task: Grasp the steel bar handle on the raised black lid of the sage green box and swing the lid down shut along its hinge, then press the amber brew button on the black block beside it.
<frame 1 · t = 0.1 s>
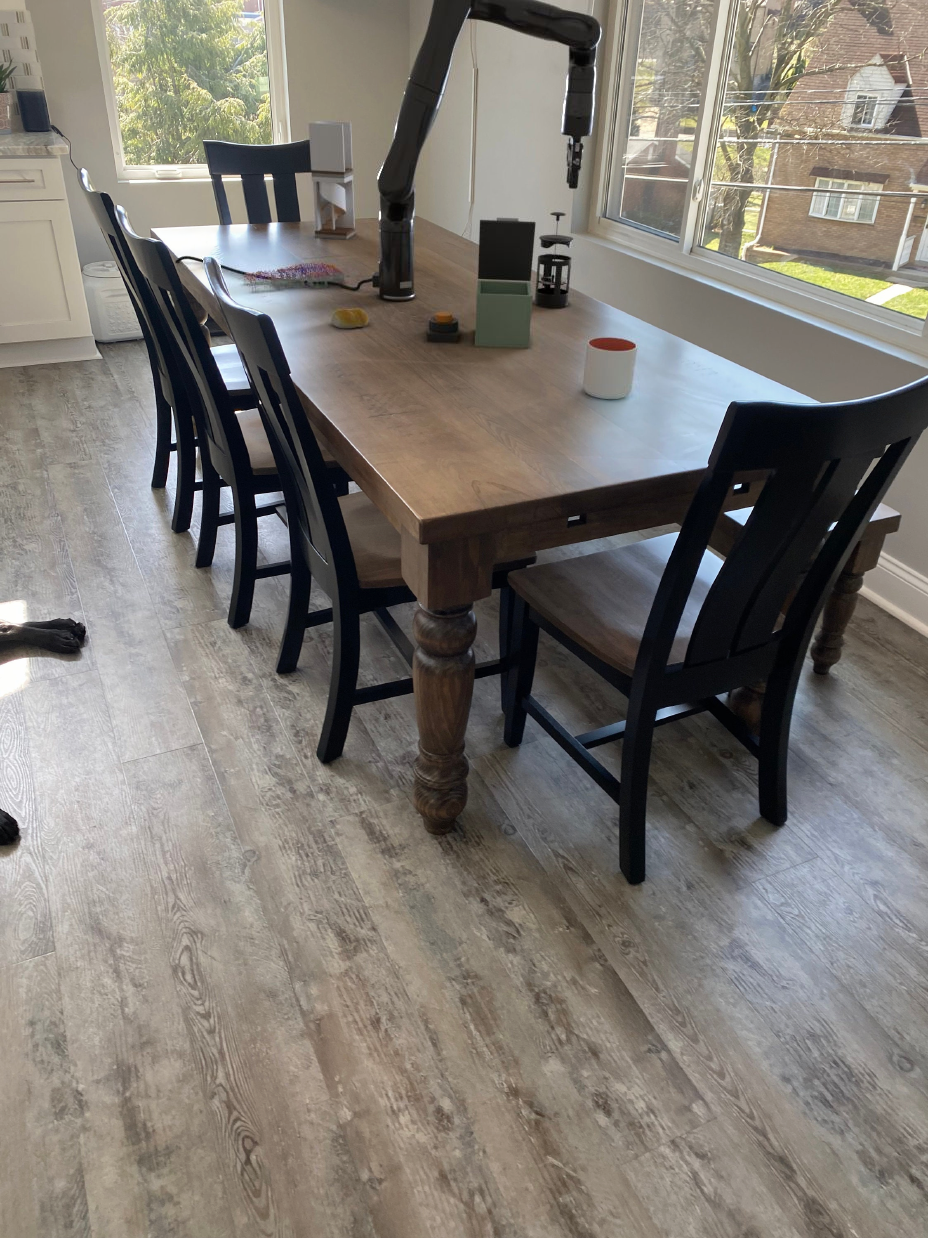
hand: (571, 185, 227), 29 cm above the table, tool pointing down, fingers open, 8 cm apart
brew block: (443, 336, 214), on the table
sage green box: (501, 338, 213), on the table
cup: (606, 393, 183), on the table
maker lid: (506, 246, 208), point 20 cm above the table, hinge at 70.0°
french press: (550, 304, 243), on the table
brew button: (443, 317, 211), point 5 cm above the table, slide at 0.1 cm
bread roll: (349, 325, 220), on the table
white tower: (335, 236, 314), on the table
multicoloured piece: (295, 285, 252), on the table
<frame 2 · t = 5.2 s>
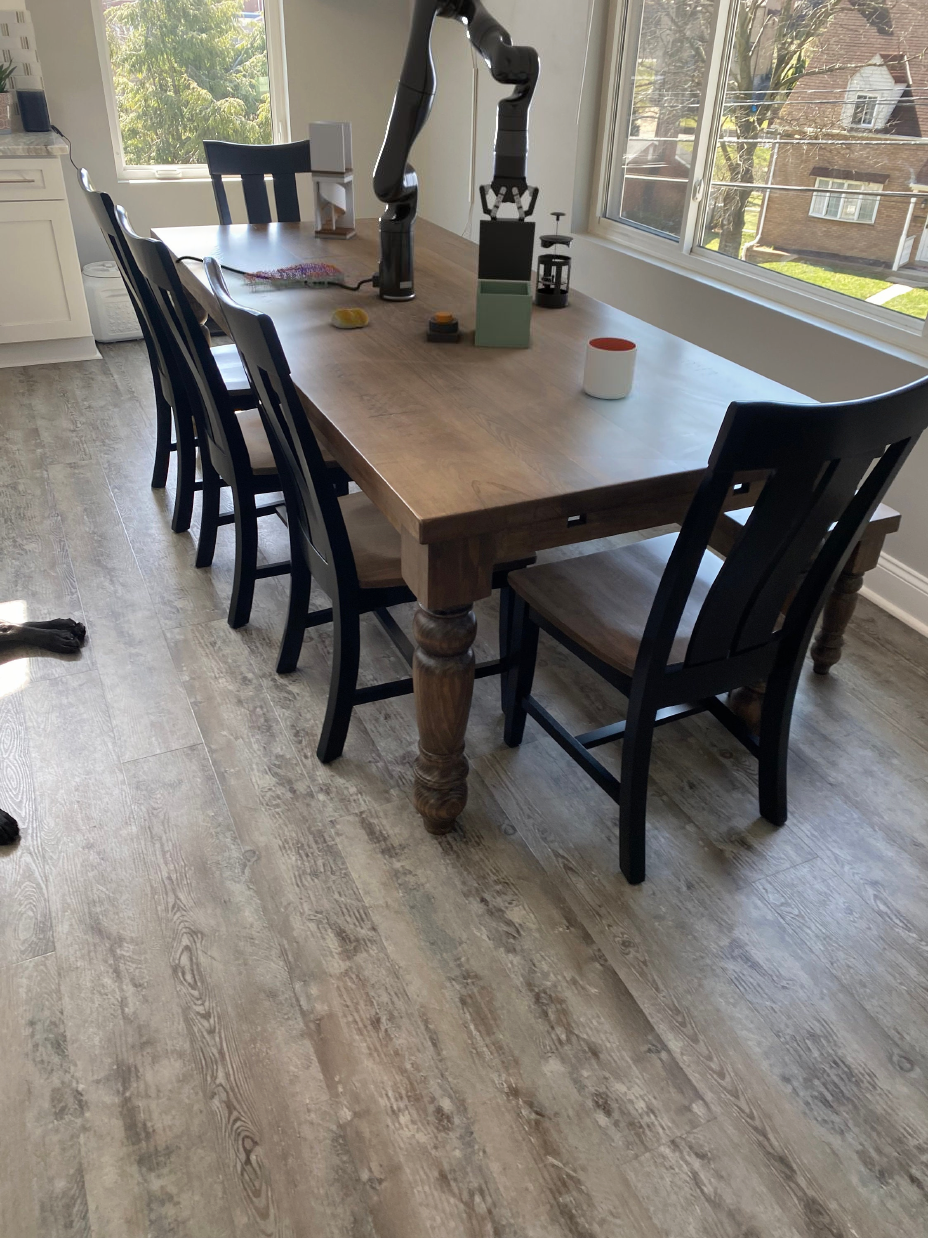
hand: (506, 234, 206), 22 cm above the table, tool pointing down, fingers closed on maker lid, 5 cm apart
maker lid: (506, 246, 208), point 20 cm above the table, hinge at 70.0°, touching gripper
everything else where it was.
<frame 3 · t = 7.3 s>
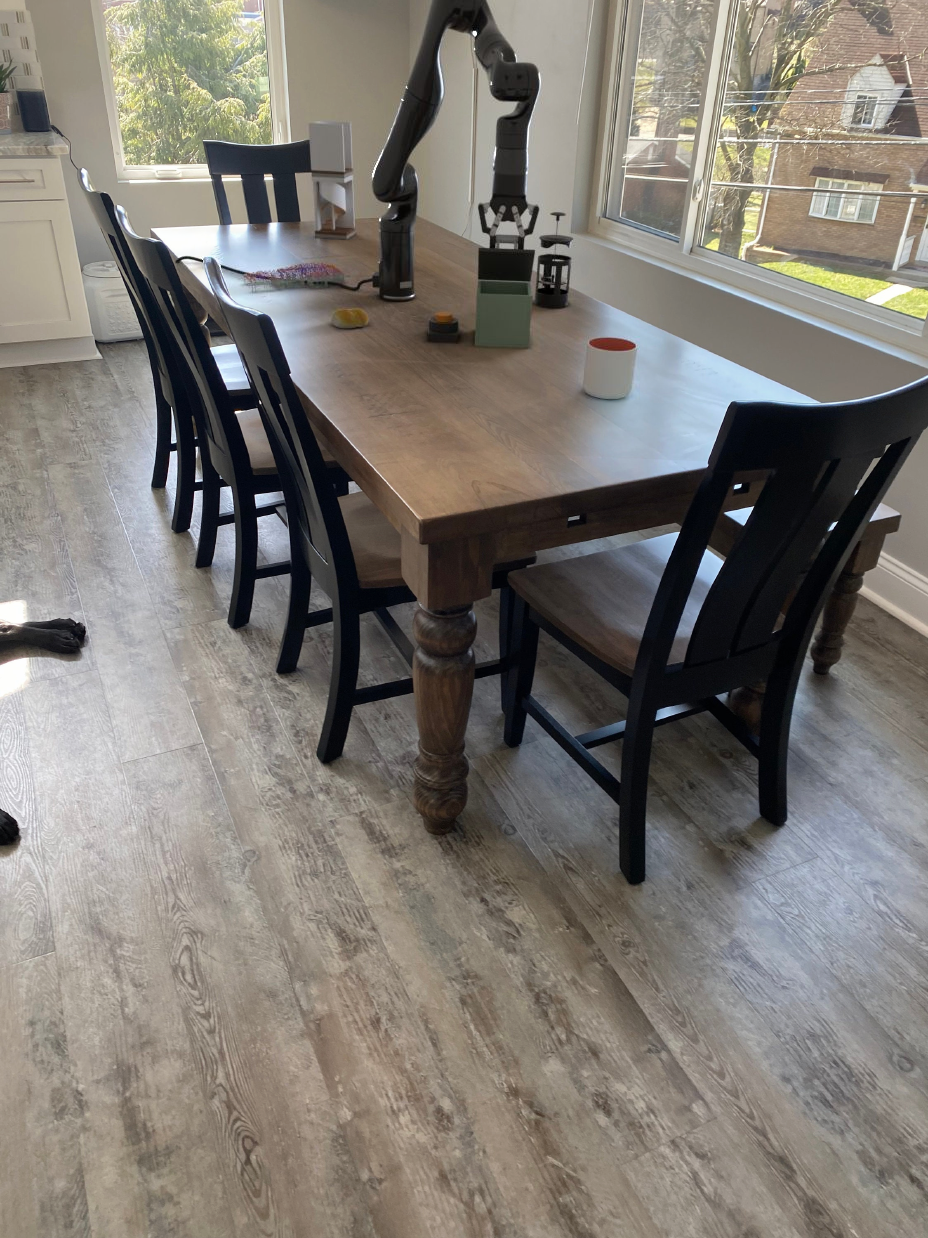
hand: (506, 253, 202), 20 cm above the table, tool pointing down, fingers closed on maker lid, 5 cm apart
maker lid: (505, 256, 205), point 18 cm above the table, hinge at 37.1°, touching gripper
everything else where it was.
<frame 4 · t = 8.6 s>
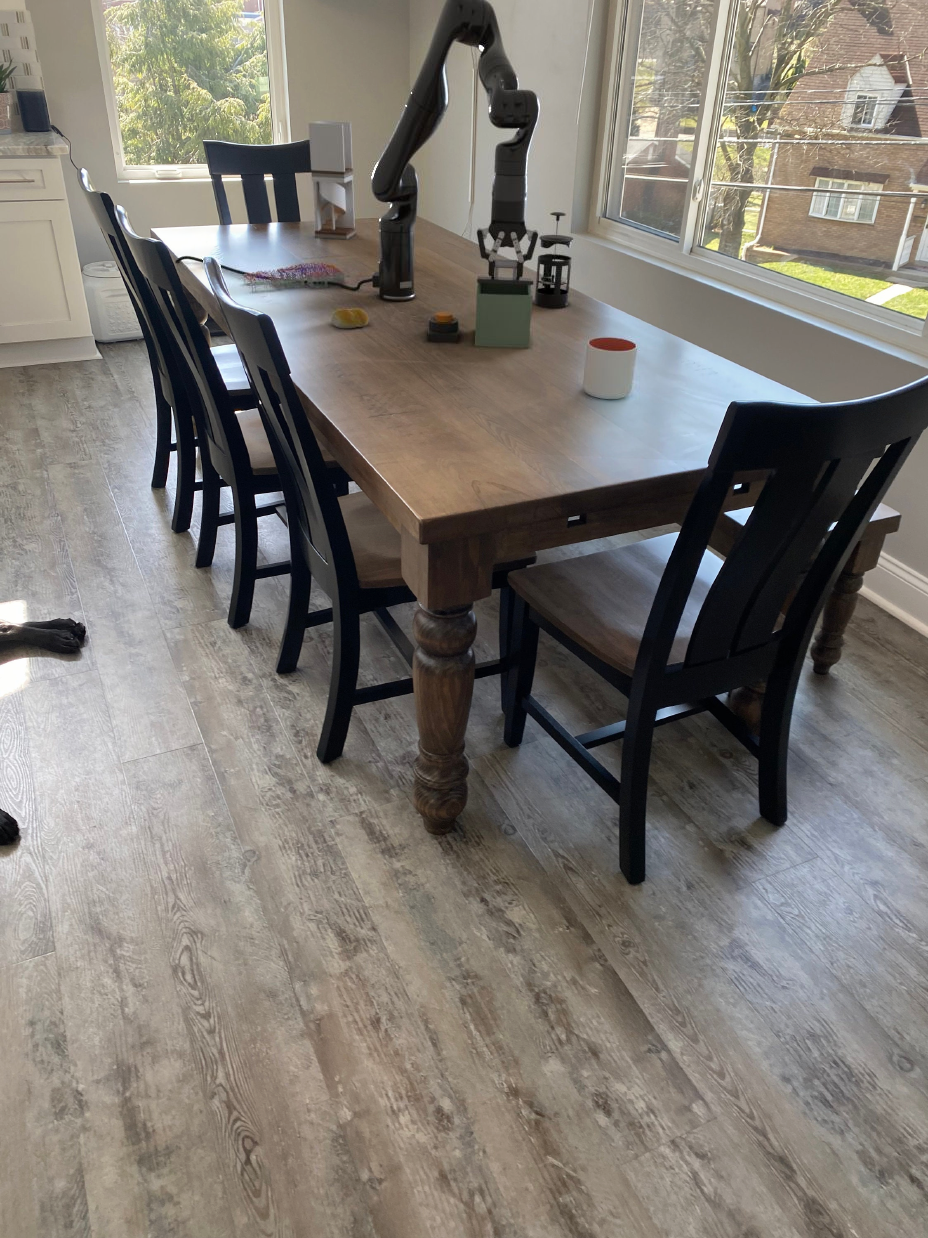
hand: (505, 278, 201), 15 cm above the table, tool pointing down, fingers closed on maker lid, 5 cm apart
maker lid: (505, 270, 205), point 16 cm above the table, hinge at 10.1°, touching gripper
everything else where it was.
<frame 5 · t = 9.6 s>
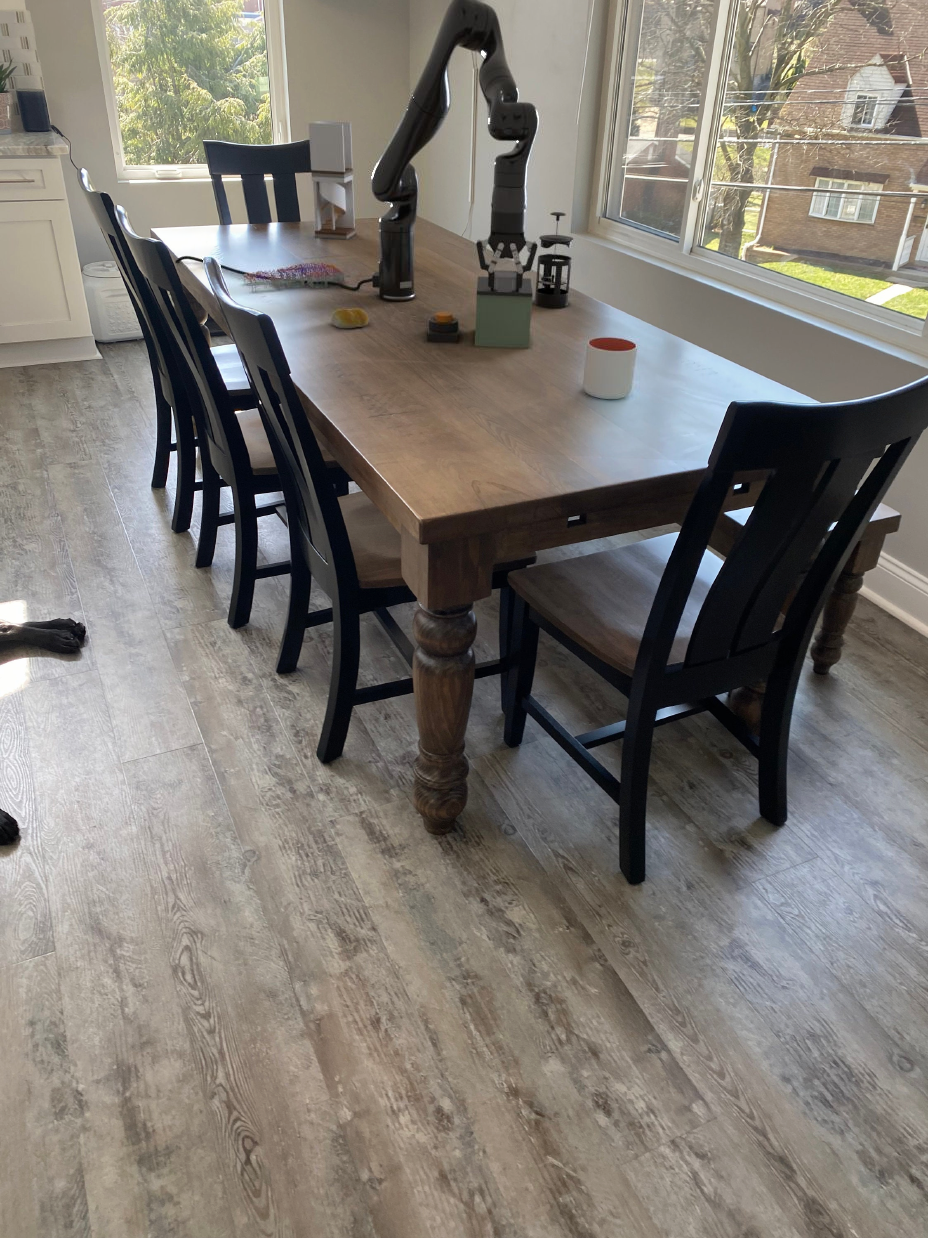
hand: (504, 289, 202), 13 cm above the table, tool pointing down, fingers closed on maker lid, 5 cm apart
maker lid: (504, 276, 205), point 14 cm above the table, hinge at -0.2°, touching sage green box, gripper
everything else where it was.
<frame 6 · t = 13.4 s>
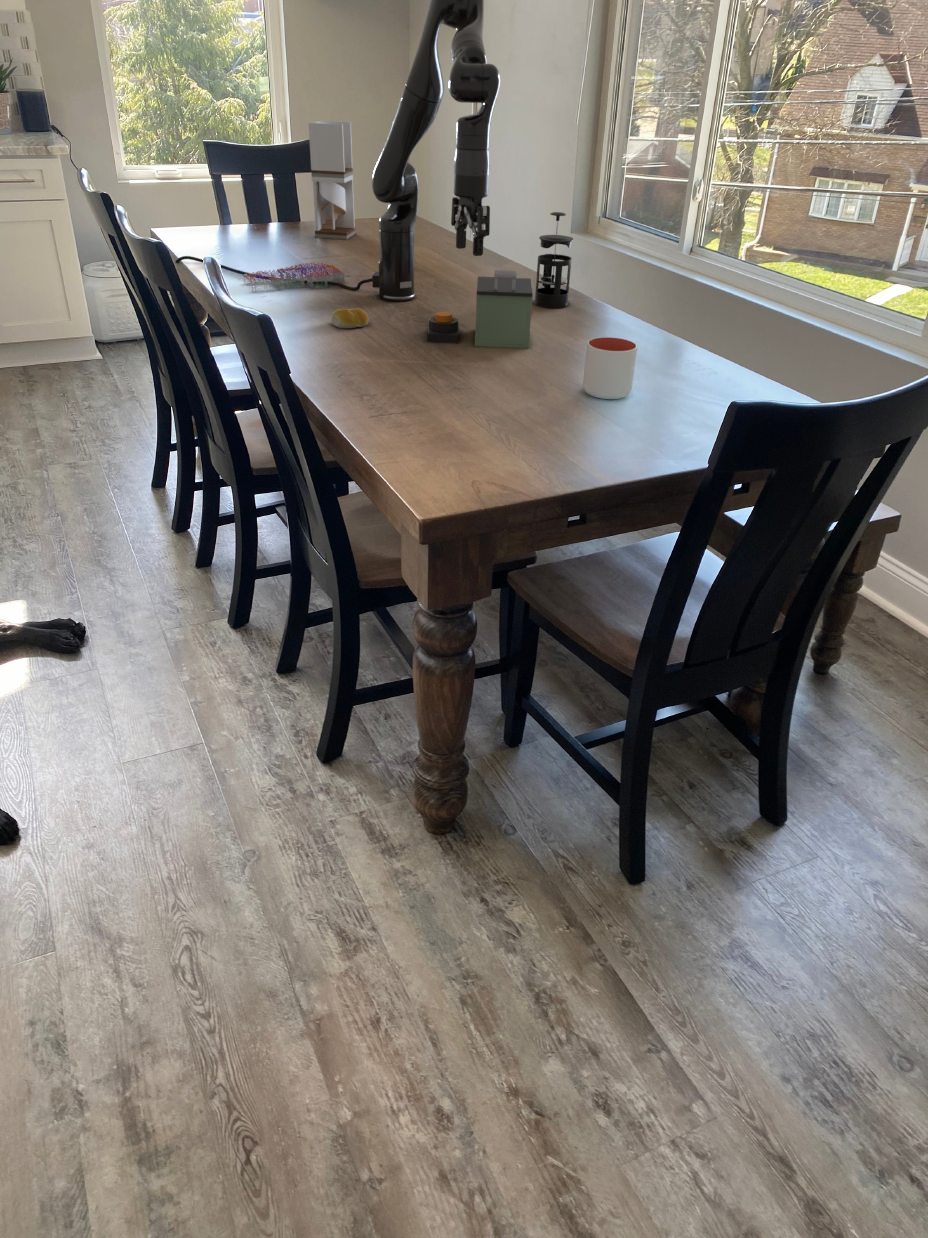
hand: (469, 251, 201), 20 cm above the table, tool pointing down, fingers open, 8 cm apart
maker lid: (504, 276, 205), point 14 cm above the table, hinge at -0.2°, touching sage green box
everything else where it was.
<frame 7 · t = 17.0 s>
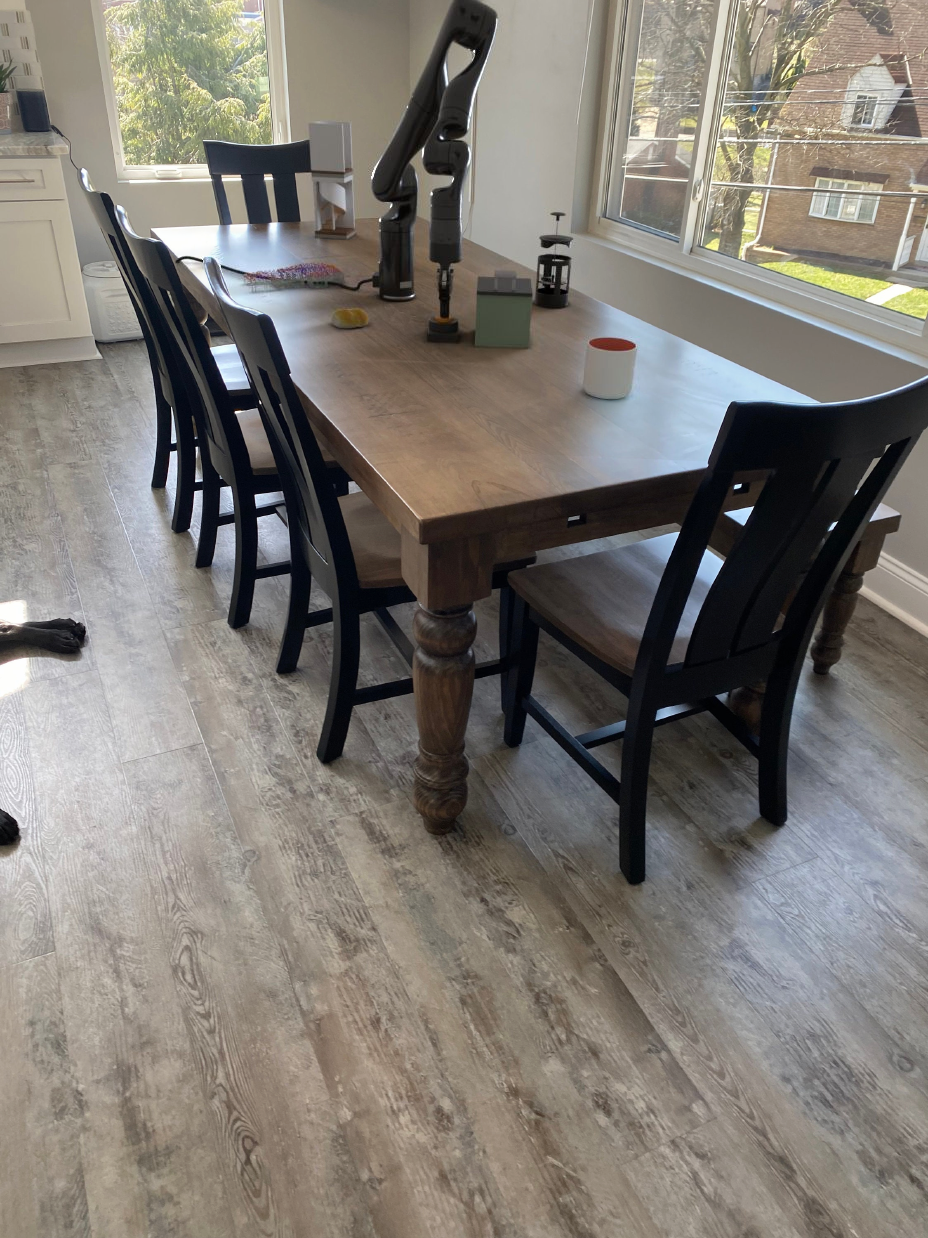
hand: (444, 316, 211), 5 cm above the table, tool pointing down, fingers closed
brew button: (443, 320, 211), point 4 cm above the table, slide at -0.6 cm, touching gripper
everything else where it was.
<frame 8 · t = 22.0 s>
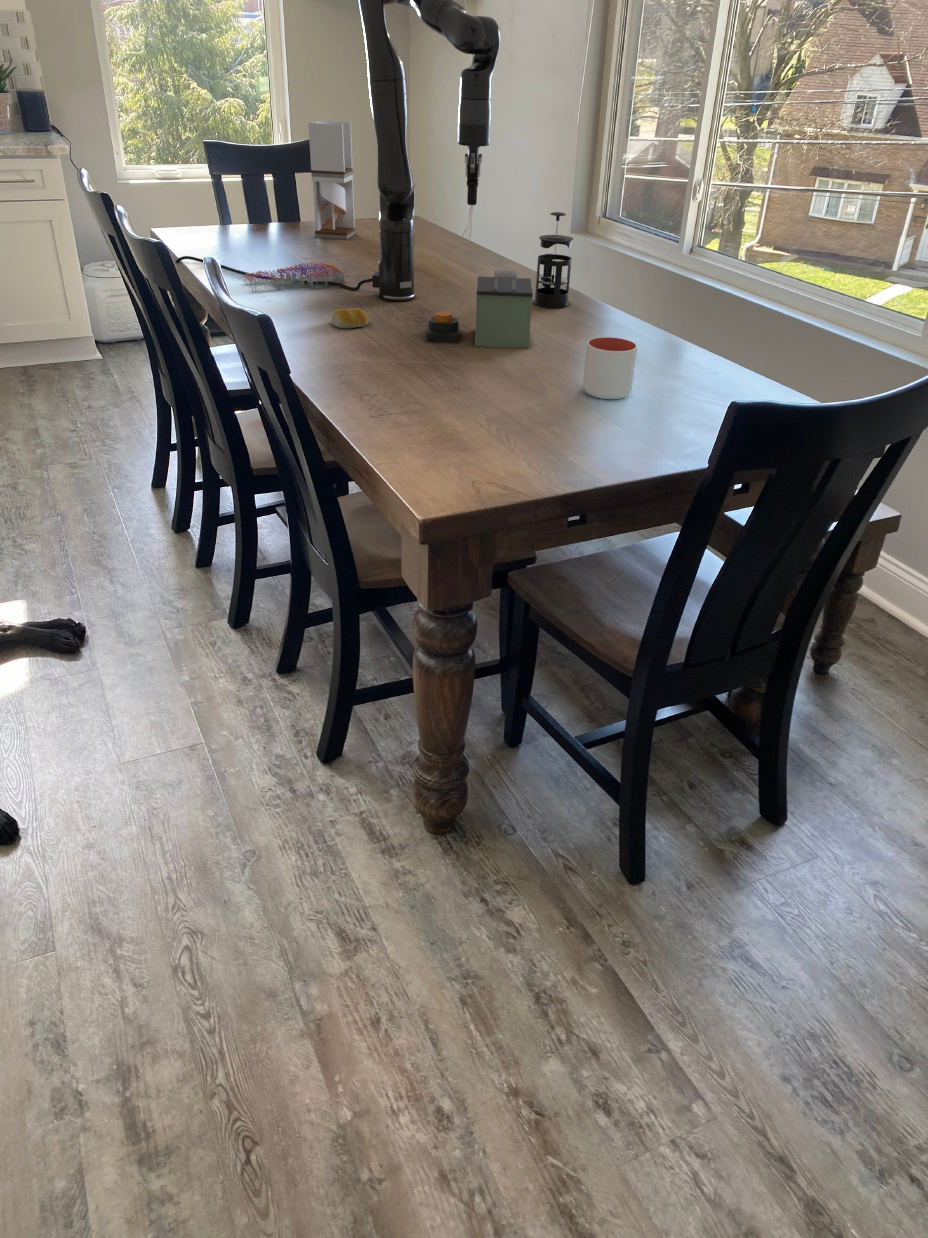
hand: (471, 204, 212), 27 cm above the table, tool pointing down, fingers closed
brew button: (443, 317, 211), point 5 cm above the table, slide at 0.1 cm
everything else where it was.
at the end: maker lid at +0° (first picture: +70°); brew button pushed in 1.2 cm at the most during the clip, back to where it started at the end; brew button slide at 0.1 cm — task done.
